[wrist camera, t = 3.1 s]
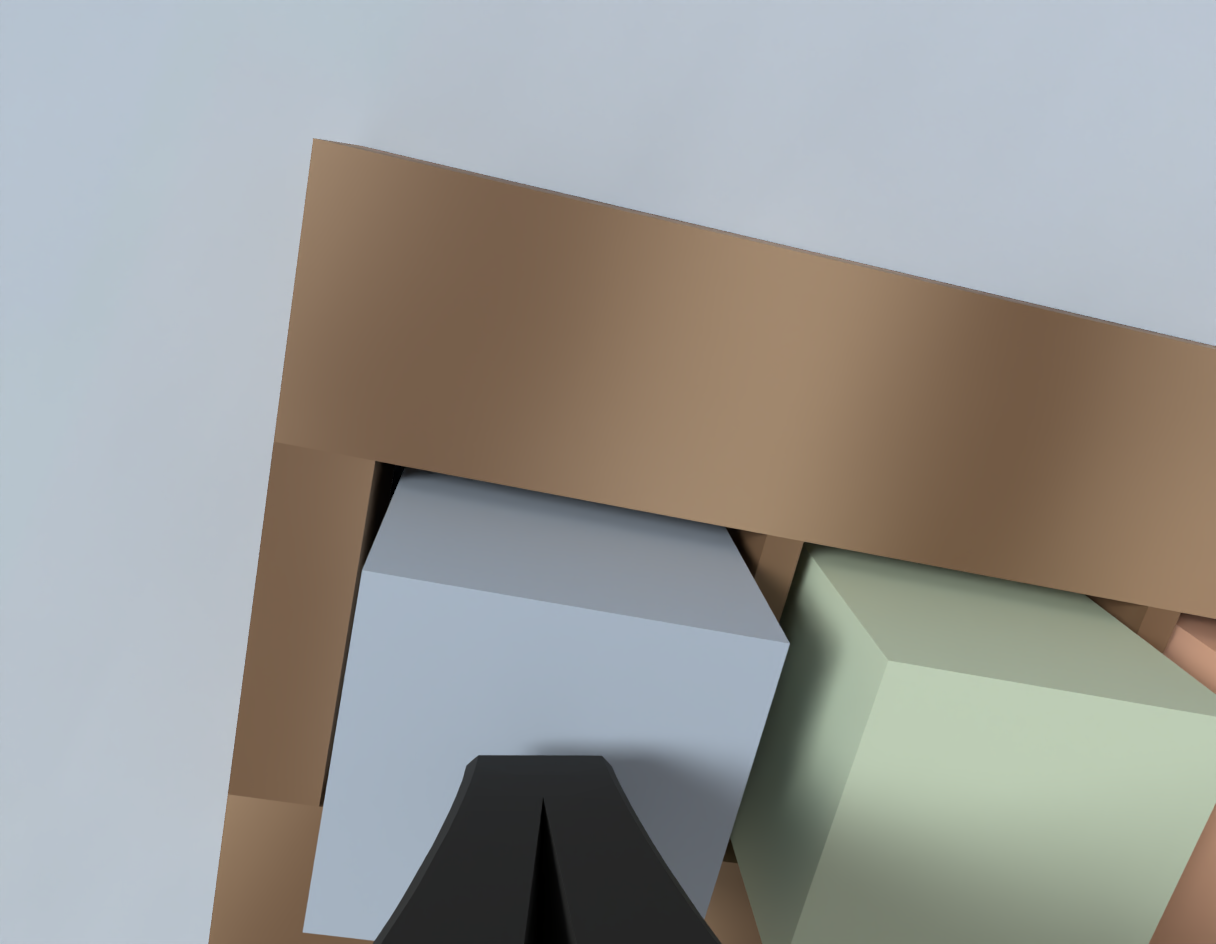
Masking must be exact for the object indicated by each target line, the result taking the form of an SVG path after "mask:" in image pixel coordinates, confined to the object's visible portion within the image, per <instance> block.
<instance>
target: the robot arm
mask: <svg viewBox="0 0 1216 944" xmlns="http://www.w3.org/2000/svg"><path fill="white" fill-rule="evenodd" d="M373 944H722V943H721V942H720V941H719V939H718V938H717V937H716V935H715V934H714V932H713V931H712V930H711V928H710V927H709V926H708V924H707V923H706V921H705V920H704V919H703V917H702V916H701V915H700V913H699V912H698V910H697V909H696V907H695V906H694V904H693V903H692V901H691V900H690V898H689V897H688V895H687V894H686V892H685V891H684V889H683V888H682V887H681V885H680V884H679V882H678V881H677V879H676V878H675V876H674V875H673V873H672V872H671V870H670V869H669V867H668V866H667V864H666V863H665V861H664V859H663V858H662V856H661V855H660V853H659V852H658V850H657V848H656V847H655V845H654V844H653V842H652V840H651V838H650V837H649V835H648V833H647V832H646V830H645V828H644V827H643V825H642V823H641V822H640V820H639V818H638V816H637V815H636V813H635V811H634V809H633V807H632V806H631V804H630V802H629V800H628V798H627V796H626V794H625V793H624V791H623V789H622V787H621V785H620V783H619V781H618V779H617V777H616V774H615V772H614V770H613V768H612V766H611V765H610V764H609V763H608V762H607V760H606V759H605V758H604V757H603V756H592V755H478V756H477V757H476V758H474V759H473V760H472V761H471V762H470V763H469V764H467V765H466V769H465V772H464V776H463V779H462V782H461V785H460V787H459V790H458V792H457V795H456V797H455V800H454V802H453V804H452V806H451V809H450V811H449V813H448V815H447V817H446V819H445V821H444V823H443V825H442V827H441V829H440V831H439V833H438V835H437V837H436V839H435V841H434V843H433V845H432V847H431V849H430V850H429V852H428V854H427V856H426V857H425V859H424V861H423V863H422V864H421V866H420V868H419V870H418V871H417V873H416V875H415V877H414V878H413V880H412V882H411V884H410V885H409V887H408V889H407V891H406V892H405V894H404V896H403V897H402V899H401V901H400V902H399V904H398V906H397V907H396V909H395V911H394V912H393V914H392V915H391V917H390V918H389V920H388V921H387V923H386V924H385V926H384V927H383V929H382V930H381V932H380V933H379V935H378V936H377V938H376V939H375V941H374V942H373Z"/></svg>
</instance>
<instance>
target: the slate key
mask: <svg viewBox="0 0 1216 944" xmlns="http://www.w3.org/2000/svg"><path fill="white" fill-rule="evenodd" d="M789 645H790V643H789V641H788V639H787V637H786V636H785V634H784V632H783V630H782V628H781V627H780V625H779V623H778V621H777V619H776V618H775V616H774V614H773V612H772V610H771V609H770V607H769V605H768V603H767V601H766V600H765V598H764V596H763V594H762V592H761V591H760V589H759V587H758V585H757V583H756V582H755V580H754V578H753V576H752V574H751V573H750V571H749V569H748V567H747V565H746V564H745V562H744V560H743V558H742V556H741V555H740V553H739V551H738V549H737V547H736V546H735V544H734V542H733V540H732V538H731V537H730V535H729V533H728V531H727V529H726V528H725V527H723V526H718V525H713V524H707V523H702V522H697V521H691V520H686V519H681V518H675V517H670V516H665V515H659V514H654V513H649V512H643V511H638V510H633V509H627V508H622V507H617V506H612V505H606V504H601V503H596V502H590V501H585V500H580V499H574V498H569V497H564V496H558V495H553V494H548V493H542V492H537V491H532V490H526V489H521V488H516V487H511V486H505V485H500V484H495V483H489V482H484V481H479V480H473V479H468V478H463V477H457V476H452V475H447V474H441V473H436V472H431V471H426V470H420V469H415V468H410V467H405V469H404V471H403V473H402V476H401V478H400V481H399V483H398V485H397V488H396V490H395V493H394V495H393V497H392V500H391V502H390V505H389V507H388V509H387V512H386V514H385V517H384V519H383V521H382V524H381V526H380V529H379V531H378V533H377V536H376V538H375V541H374V543H373V545H372V548H371V550H370V553H369V555H368V557H367V560H366V562H365V564H364V567H363V569H362V574H361V580H360V586H359V592H358V598H357V604H356V610H355V617H354V623H353V629H352V635H351V641H350V647H349V653H348V659H347V665H346V671H345V677H344V683H343V690H342V696H341V702H340V708H339V714H338V720H337V726H336V732H335V738H334V744H333V750H332V756H331V763H330V769H329V775H328V781H327V787H326V793H325V799H324V805H323V811H322V817H321V823H320V830H319V836H318V842H317V848H316V854H315V860H314V866H313V872H312V878H311V884H310V890H309V896H308V903H307V909H306V915H305V921H304V927H303V933H312V934H321V935H329V936H338V937H346V938H355V939H363V940H372V941H375V939H376V938H377V936H378V935H379V933H380V932H381V930H382V929H383V927H384V926H385V924H386V923H387V921H388V920H389V918H390V917H391V915H392V914H393V912H394V911H395V909H396V907H397V906H398V904H399V902H400V901H401V899H402V897H403V896H404V894H405V892H406V891H407V889H408V887H409V885H410V884H411V882H412V880H413V878H414V877H415V875H416V873H417V871H418V870H419V868H420V866H421V864H422V863H423V861H424V859H425V857H426V856H427V854H428V852H429V850H430V849H431V847H432V845H433V843H434V841H435V839H436V837H437V835H438V833H439V831H440V829H441V827H442V825H443V823H444V821H445V819H446V817H447V815H448V813H449V811H450V809H451V806H452V804H453V802H454V800H455V797H456V795H457V792H458V790H459V787H460V785H461V782H462V779H463V776H464V772H465V769H466V765H467V764H469V763H470V762H471V761H472V760H473V759H474V758H476V757H477V756H478V755H592V756H603V757H604V758H605V759H606V760H607V762H608V763H609V764H610V765H611V766H612V768H613V770H614V772H615V774H616V777H617V779H618V781H619V783H620V785H621V787H622V789H623V791H624V793H625V794H626V796H627V798H628V800H629V802H630V804H631V806H632V807H633V809H634V811H635V813H636V815H637V816H638V818H639V820H640V822H641V823H642V825H643V827H644V828H645V830H646V832H647V833H648V835H649V837H650V838H651V840H652V842H653V844H654V845H655V847H656V848H657V850H658V852H659V853H660V855H661V856H662V858H663V859H664V861H665V863H666V864H667V866H668V867H669V869H670V870H671V872H672V873H673V875H674V876H675V878H676V879H677V881H678V882H679V884H680V885H681V887H682V888H683V889H684V891H685V892H686V894H687V895H688V897H689V898H690V900H691V901H692V903H693V904H694V906H695V907H696V909H697V910H698V912H699V913H700V915H701V916H702V917H703V919H705V916H706V912H707V909H708V906H709V903H710V900H711V896H712V893H713V890H714V887H715V883H716V880H717V877H718V874H719V871H720V867H721V864H722V861H723V858H724V854H725V851H726V848H727V845H728V842H729V838H730V835H731V832H732V829H733V825H734V822H735V819H736V816H737V813H738V809H739V806H740V803H741V800H742V796H743V793H744V790H745V787H746V784H747V780H748V777H749V774H750V771H751V767H752V764H753V761H754V758H755V755H756V751H757V748H758V745H759V742H760V738H761V735H762V732H763V729H764V726H765V722H766V719H767V716H768V713H769V709H770V706H771V703H772V700H773V697H774V693H775V690H776V687H777V684H778V680H779V677H780V674H781V671H782V668H783V664H784V661H785V658H786V655H787V651H788V648H789Z"/></svg>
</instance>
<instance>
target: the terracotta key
mask: <svg viewBox="0 0 1216 944" xmlns="http://www.w3.org/2000/svg"><path fill="white" fill-rule="evenodd" d="M1163 655H1165V656H1166V657H1167V658H1169V659H1170V660H1171V661H1173V662H1174V663H1175V664H1177V665H1178V666H1179V667H1180V668H1182V669H1183V670H1184V671H1186V672H1187V673H1188V674H1190V675H1191V676H1192V677H1194V678H1195V679H1196V680H1198V681H1199V682H1200V683H1202V684H1203V685H1204V686H1206V687H1207V688H1208V689H1209V690H1211V691H1212V692H1213V693H1215V694H1216V619H1212V618H1207V617H1202V616H1196V615H1191V614H1186V613H1181V614H1180V616H1179V619H1178V621H1177V623H1176V625H1175V628H1174V630H1173V632H1172V635H1171V637H1170V639H1169V641H1168V644H1167V646H1166V648H1165V651H1164V653H1163ZM1149 944H1216V804H1215V806H1214V808H1213V810H1212V812H1211V814H1210V816H1209V818H1208V820H1207V823H1206V825H1205V827H1204V829H1203V831H1202V833H1201V835H1200V837H1199V839H1198V841H1197V844H1196V846H1195V848H1194V850H1193V852H1192V854H1191V856H1190V858H1189V860H1188V862H1187V865H1186V867H1185V869H1184V871H1183V873H1182V875H1181V877H1180V879H1179V881H1178V883H1177V885H1176V888H1175V890H1174V892H1173V894H1172V896H1171V898H1170V900H1169V902H1168V904H1167V906H1166V909H1165V911H1164V913H1163V915H1162V917H1161V919H1160V921H1159V923H1158V925H1157V927H1156V929H1155V932H1154V934H1153V936H1152V938H1151V940H1150V942H1149Z"/></svg>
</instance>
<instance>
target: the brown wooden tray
mask: <svg viewBox="0 0 1216 944" xmlns="http://www.w3.org/2000/svg"><path fill="white" fill-rule="evenodd" d="M395 465H400V466H405V467H411V468H416V469H421V470H427V471H432V472H437V473H443V474H448V475H453V476H459V477H464V478H469V479H475V480H480V481H485V482H491V483H496V484H501V485H506V486H512V487H517V488H522V489H528V490H533V491H538V492H544V493H549V494H554V495H560V496H565V497H570V498H576V499H581V500H586V501H591V502H597V503H602V504H607V505H613V506H618V507H623V508H629V509H634V510H639V511H645V512H650V513H655V514H661V515H666V516H671V517H677V518H682V519H687V520H692V521H698V522H703V523H707V524H713V525H718V526H723V527H725V528H726V529H727V531H728V533H729V535H730V537H731V538H732V540H733V542H734V544H735V546H736V547H737V549H738V551H739V553H740V555H741V556H742V558H743V560H744V562H745V564H746V565H747V567H748V569H749V571H750V573H751V574H752V576H753V578H754V580H755V582H756V583H757V585H758V587H759V589H760V591H761V592H762V594H763V596H764V598H765V600H766V601H767V603H768V605H769V607H770V609H771V610H772V612H773V614H774V616H775V618H776V619H777V621H778V623H779V622H780V618H781V615H782V612H783V608H784V605H785V602H786V599H787V595H788V592H789V589H790V585H791V582H792V579H793V576H794V572H795V569H796V566H797V562H798V559H799V556H800V553H801V549H802V546H803V543H804V542H809V543H815V544H820V545H825V546H831V547H836V548H841V549H847V550H852V551H857V552H863V553H868V554H873V555H878V556H884V557H889V558H894V559H900V560H905V561H910V562H916V563H921V564H926V565H932V566H937V567H942V568H948V569H953V570H958V571H964V572H969V573H974V574H979V575H985V576H990V577H995V578H1001V579H1006V580H1011V581H1016V582H1021V583H1026V584H1031V585H1037V586H1042V587H1047V588H1053V589H1058V590H1063V591H1069V592H1074V593H1079V594H1084V595H1086V596H1087V597H1088V598H1090V599H1091V600H1092V601H1094V602H1095V603H1096V604H1098V605H1099V606H1100V607H1101V608H1103V609H1104V610H1105V611H1107V612H1108V613H1109V614H1111V615H1112V616H1113V617H1115V618H1116V619H1117V620H1119V621H1120V622H1121V623H1123V624H1124V625H1125V626H1126V627H1128V628H1129V629H1130V630H1132V631H1133V632H1134V633H1136V634H1137V635H1138V636H1140V637H1141V638H1142V639H1144V640H1145V641H1146V642H1148V643H1149V644H1150V645H1152V646H1153V647H1154V648H1155V649H1157V650H1158V651H1159V652H1161V653H1162V654H1163V653H1164V651H1165V648H1166V646H1167V644H1168V641H1169V639H1170V637H1171V635H1172V632H1173V630H1174V628H1175V625H1176V623H1177V621H1178V619H1179V616H1180V614H1181V613H1187V614H1192V615H1197V616H1203V617H1208V618H1213V619H1216V346H1212V345H1208V344H1203V343H1199V342H1195V341H1191V340H1186V339H1182V338H1178V337H1174V336H1169V335H1165V334H1161V333H1157V332H1152V331H1148V330H1144V329H1140V328H1135V327H1131V326H1127V325H1122V324H1118V323H1114V322H1110V321H1105V320H1101V319H1097V318H1093V317H1088V316H1084V315H1080V314H1076V313H1071V312H1067V311H1063V310H1059V309H1054V308H1050V307H1046V306H1041V305H1037V304H1033V303H1029V302H1024V301H1020V300H1016V299H1012V298H1007V297H1003V296H999V295H995V294H990V293H986V292H982V291H977V290H973V289H969V288H965V287H960V286H956V285H952V284H948V283H943V282H939V281H935V280H931V279H926V278H922V277H918V276H914V275H909V274H905V273H901V272H896V271H892V270H888V269H884V268H879V267H875V266H871V265H867V264H862V263H858V262H854V261H850V260H845V259H841V258H837V257H833V256H828V255H824V254H820V253H815V252H811V251H807V250H803V249H798V248H794V247H790V246H786V245H781V244H777V243H773V242H769V241H764V240H760V239H756V238H751V237H747V236H743V235H739V234H734V233H730V232H726V231H722V230H717V229H713V228H709V227H705V226H700V225H696V224H692V223H688V222H683V221H679V220H675V219H670V218H666V217H662V216H658V215H653V214H649V213H645V212H641V211H636V210H632V209H628V208H624V207H619V206H615V205H611V204H607V203H602V202H598V201H594V200H589V199H585V198H581V197H577V196H572V195H568V194H564V193H560V192H555V191H551V190H547V189H543V188H538V187H534V186H530V185H525V184H521V183H517V182H513V181H508V180H504V179H500V178H496V177H491V176H487V175H483V174H479V173H474V172H470V171H466V170H462V169H457V168H453V167H449V166H444V165H440V164H436V163H432V162H427V161H423V160H419V159H415V158H410V157H406V156H402V155H398V154H393V153H389V152H385V151H381V150H376V149H372V148H368V147H363V146H359V145H352V144H346V143H340V142H333V141H327V140H321V139H314V138H313V145H312V153H311V160H310V168H309V176H308V183H307V191H306V199H305V206H304V214H303V222H302V229H301V237H300V245H299V253H298V260H297V268H296V276H295V283H294V291H293V299H292V306H291V314H290V322H289V329H288V337H287V345H286V352H285V360H284V368H283V375H282V383H281V391H280V398H279V406H278V414H277V421H276V429H275V437H274V444H273V452H272V460H271V467H270V475H269V483H268V490H267V498H266V506H265V514H264V521H263V529H262V537H261V544H260V552H259V560H258V567H257V575H256V583H255V590H254V598H253V606H252V613H251V621H250V629H249V636H248V644H247V652H246V659H245V667H244V675H243V682H242V690H241V698H240V705H239V713H238V721H237V728H236V736H235V744H234V751H233V759H232V767H231V775H230V782H229V790H228V798H227V805H226V813H225V821H224V828H223V836H222V844H221V851H220V859H219V867H218V874H217V882H216V890H215V897H214V905H213V913H212V920H211V928H210V936H209V943H208V944H373V942H374V941H372V940H363V939H355V938H346V937H338V936H329V935H321V934H312V933H303V927H304V921H305V915H306V909H307V903H308V896H309V890H310V884H311V878H312V872H313V866H314V860H315V854H316V848H317V842H318V836H319V830H320V823H321V817H322V811H323V805H324V799H325V793H326V787H327V781H328V775H329V769H330V763H331V756H332V750H333V744H334V738H335V732H336V726H337V720H338V714H339V708H340V702H341V696H342V690H343V683H344V677H345V671H346V665H347V659H348V653H349V647H350V641H351V635H352V629H353V623H354V617H355V610H356V604H357V598H358V592H359V586H360V580H361V574H362V569H363V567H364V564H365V562H366V560H367V557H368V555H369V553H370V550H371V548H372V545H373V543H374V541H375V538H376V536H377V533H378V531H379V529H380V526H381V524H382V521H383V519H384V517H385V514H386V512H387V509H388V505H389V499H390V493H391V487H392V481H393V476H394V470H395ZM704 920H705V921H706V923H707V924H708V926H709V927H710V928H711V930H712V931H713V932H714V934H715V935H716V937H717V938H718V939H719V941H720V942H721V943H722V944H762V941H761V938H760V934H759V931H758V928H757V924H756V921H755V918H754V915H753V911H752V908H751V905H750V901H749V898H748V895H747V892H746V888H745V885H744V882H743V878H742V875H741V872H740V868H739V865H738V862H737V859H736V855H735V852H734V849H733V845H732V842H731V839H730V838H729V842H728V845H727V848H726V851H725V854H724V858H723V861H722V864H721V867H720V871H719V874H718V877H717V880H716V883H715V887H714V890H713V893H712V896H711V900H710V903H709V906H708V909H707V912H706V916H705V919H704Z"/></svg>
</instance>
